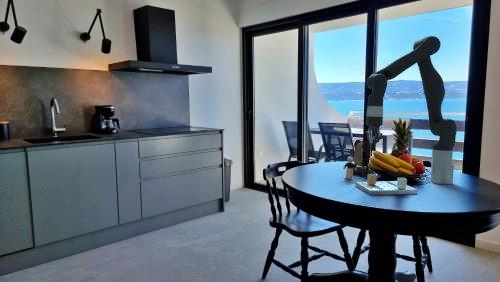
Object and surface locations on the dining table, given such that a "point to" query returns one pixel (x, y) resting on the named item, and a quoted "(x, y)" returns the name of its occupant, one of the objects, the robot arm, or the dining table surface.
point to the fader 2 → (401, 183)
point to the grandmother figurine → (349, 168)
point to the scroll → (358, 157)
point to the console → (384, 188)
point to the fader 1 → (371, 179)
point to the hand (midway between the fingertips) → (372, 150)
